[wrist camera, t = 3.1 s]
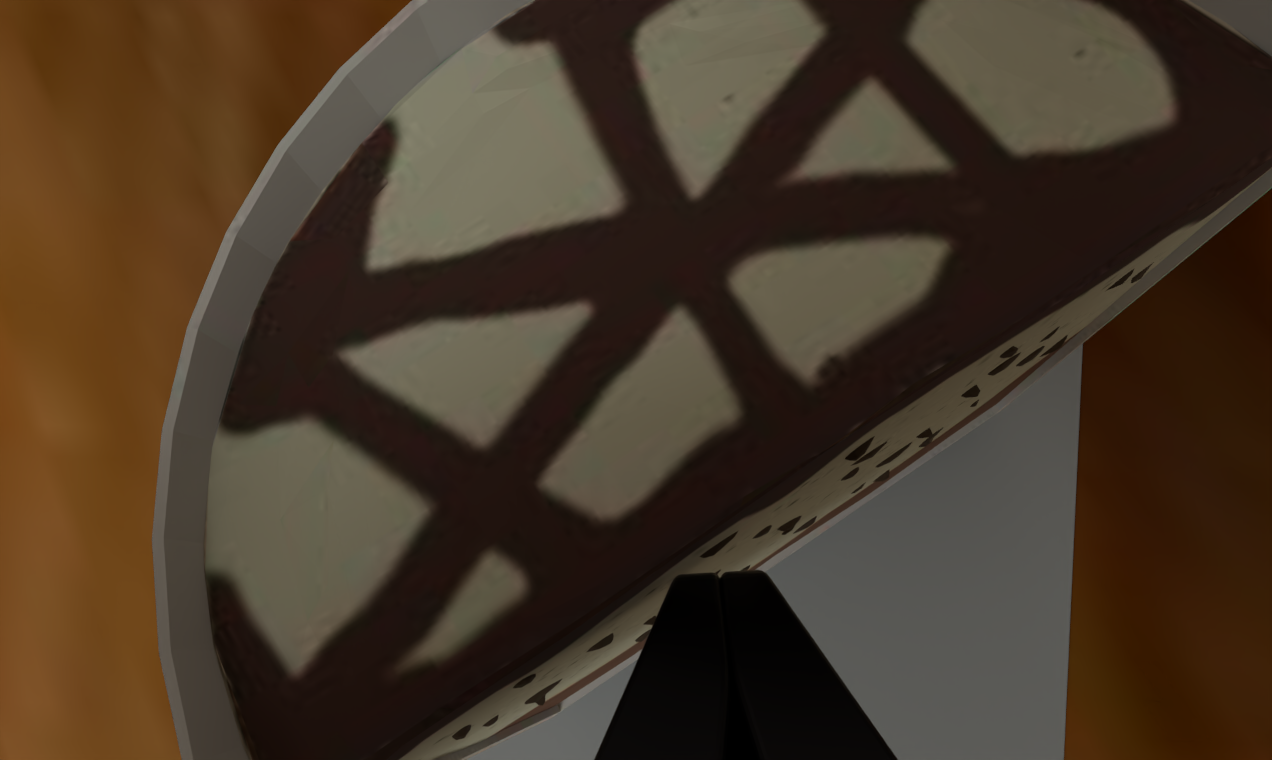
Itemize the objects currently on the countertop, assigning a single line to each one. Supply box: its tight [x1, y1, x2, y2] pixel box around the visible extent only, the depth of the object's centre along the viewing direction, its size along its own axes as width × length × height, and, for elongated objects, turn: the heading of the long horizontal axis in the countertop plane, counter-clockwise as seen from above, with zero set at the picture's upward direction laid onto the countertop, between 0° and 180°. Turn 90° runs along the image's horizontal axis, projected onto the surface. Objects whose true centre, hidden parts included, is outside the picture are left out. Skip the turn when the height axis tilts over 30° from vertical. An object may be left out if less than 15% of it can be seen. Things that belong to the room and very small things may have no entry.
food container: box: [152, 0, 1272, 760], centre depth 13 cm, size 12×6×10 cm, turn 124°
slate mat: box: [466, 344, 1083, 760], centre depth 18 cm, size 15×14×1 cm
